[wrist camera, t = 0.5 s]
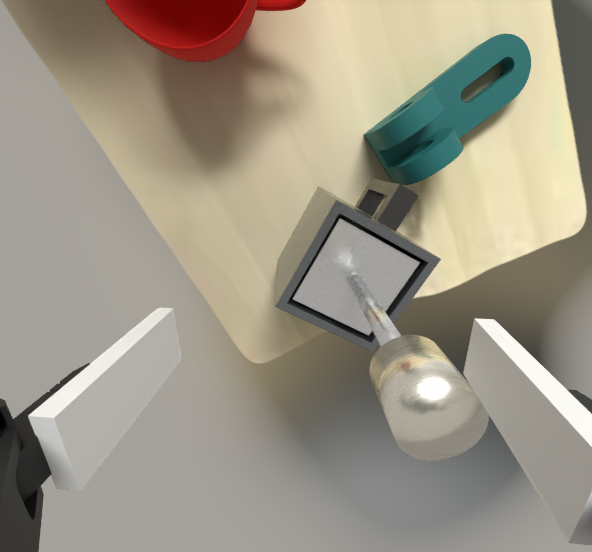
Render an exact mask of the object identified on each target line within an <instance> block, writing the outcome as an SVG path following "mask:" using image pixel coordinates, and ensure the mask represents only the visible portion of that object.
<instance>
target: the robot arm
mask: <svg viewBox="0 0 592 552" xmlns="http://www.w3.org/2000/svg"><path fill="white" fill-rule="evenodd" d="M181 359H182V355H181V348H180V342H179V336H178V330H177V324H176V318H175V312H174V308H157V309H156V310H155V311H154V312H152V313H151V314H150V315H149V316H148V317H146V318H145V319H144V320H143V321H142V322H140V323H139V324H138V325H137V326H136V327H134V328H133V329H132V330H131V331H130V332H128V333H127V334H126V335H125V336H123V337H122V338H121V339H120V340H119V341H118V342H116V343H115V344H114V345H113V346H111V347H110V348H109V349H108V350H107V351H105V352H104V353H103V354H102V355H101V356H99V357H98V358H97V359H96V360H95V361H93V362H92V363H91V364H90V363H88V364H86V365H84V366H82V367H81V368H79V369H77V370H75V371H73V372H72V373H70V374H69V375H68V376H67V377H65V378H64V379H63V380H62V381H60V384H57V385H55V386H54V387H53V388H52V389H50V392H47V393H45V394H44V395H43V396H42V397H40V398H39V399H38V400H37V401H35V402H34V403H33V404H32V405H30V406H29V407H28V408H27V409H25V410H24V411H23V412H22V413H21V414H19V415H18V416H17V417H16V418H14V419H12V416H11V414H10V412H9V409H8V407H7V404H6V402H5V400H2V399H0V552H38V550H39V539H40V528H41V517H42V506H43V491H42V488H41V485H42V484H43V482H44V481H45V480H46V479H47V478H48V477H49V476H50V475H51V476H52V478H53V481H54V484H55V486H56V488H57V489H63V490H72V491H81V490H82V488H83V487H84V486H85V485H86V483H87V482H88V480H89V479H90V478H91V477H92V475H93V474H94V473H95V471H96V470H97V469H98V468H99V466H100V465H101V464H102V462H103V461H104V460H105V458H106V457H107V456H108V455H109V453H110V452H111V451H112V449H113V448H114V447H115V446H116V444H117V443H118V441H119V440H120V439H121V437H122V436H123V435H124V434H125V432H126V431H127V430H128V428H129V427H130V426H131V425H132V423H133V422H134V421H135V419H136V418H137V417H138V415H139V414H140V413H141V412H142V410H143V409H144V408H145V406H146V405H147V404H148V403H149V401H150V400H151V398H152V397H153V396H154V395H155V393H156V392H157V391H158V389H159V388H160V387H161V386H162V384H163V383H164V382H165V380H166V379H167V378H168V376H169V375H170V374H171V373H172V371H173V370H174V369H175V367H176V366H177V365H178V363H179V362H180V361H181ZM463 374H464V375H465V377H466V379H467V380H468V382H469V383H470V385H471V387H472V388H473V390H474V391H475V393H476V395H477V396H478V398H479V399H480V401H481V403H482V404H483V406H484V407H485V409H486V411H487V412H488V414H489V415H490V417H491V419H492V420H493V422H494V423H495V425H496V427H497V428H498V430H499V431H500V433H501V435H502V436H503V438H504V439H505V441H506V443H507V444H508V446H509V448H510V449H511V451H512V452H513V454H514V456H515V457H516V459H517V460H518V462H519V464H520V465H521V467H522V468H523V470H524V472H525V473H526V475H527V476H528V478H529V480H530V481H531V483H532V484H533V486H534V488H535V489H536V491H537V493H538V494H539V496H540V497H541V499H542V501H543V502H544V504H545V505H546V507H547V508H548V510H549V512H550V513H551V515H552V517H553V518H554V520H555V522H556V523H557V525H558V526H559V528H560V529H561V531H562V533H563V534H564V536H565V537H566V539H567V540H568V542H569V543H574V544H575V543H576V544H584V545H592V400H591V399H590V398H588V397H586V396H585V395H583V394H581V393H580V392H578V391H576V390H566V389H565V388H564V387H563V386H562V385H561V384H560V383H559V382H558V381H557V380H556V379H555V378H554V377H553V376H552V375H551V374H550V373H549V372H548V371H547V370H546V369H545V368H544V367H543V366H542V365H540V363H539V362H537V361H536V360H535V359H534V358H533V357H532V356H531V355H530V354H529V353H528V352H527V351H526V350H525V349H524V348H523V347H522V346H521V345H520V344H519V343H518V342H517V341H516V340H515V339H514V338H513V337H512V336H511V335H509V334H508V333H507V332H506V331H505V330H504V329H503V328H502V327H501V326H500V325H499V324H498V323H497V322H496V321H495V320H494V319H493V320H492V319H474V324H473V329H472V334H471V338H470V343H469V349H468V353H467V358H466V364H465V369H464V373H463Z"/></svg>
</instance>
